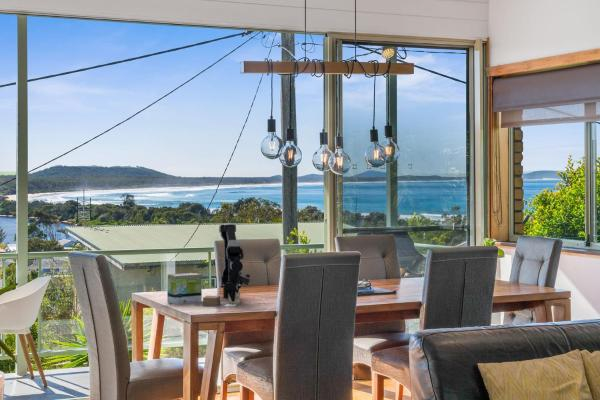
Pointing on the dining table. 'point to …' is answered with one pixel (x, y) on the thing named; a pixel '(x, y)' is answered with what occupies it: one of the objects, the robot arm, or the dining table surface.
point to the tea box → (184, 288)
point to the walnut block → (211, 300)
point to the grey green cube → (237, 298)
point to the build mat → (222, 304)
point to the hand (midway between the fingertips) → (234, 300)
